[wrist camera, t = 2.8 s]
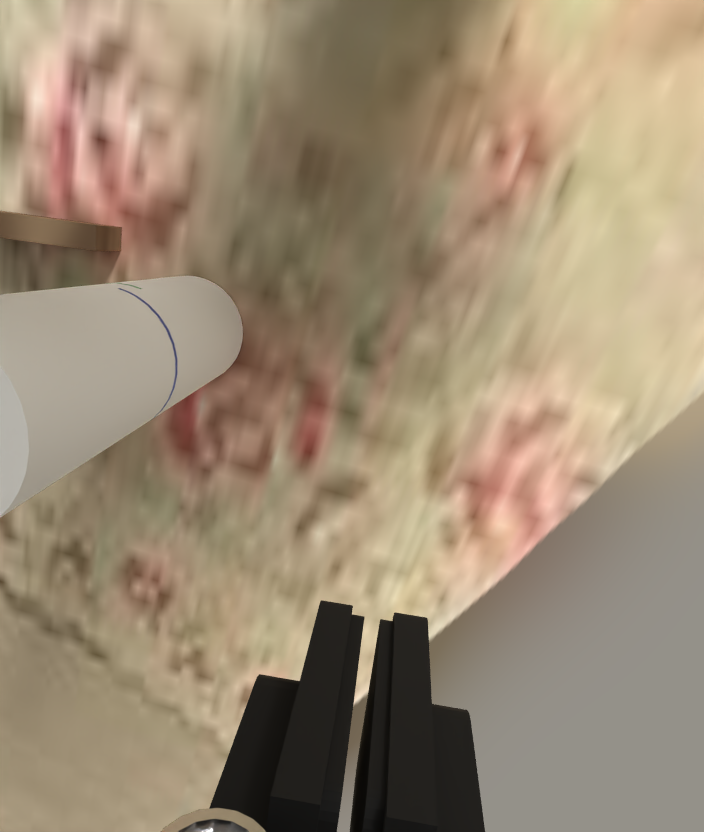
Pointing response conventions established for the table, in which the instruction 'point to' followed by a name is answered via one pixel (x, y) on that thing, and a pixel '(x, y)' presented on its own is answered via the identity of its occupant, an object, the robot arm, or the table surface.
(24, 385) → the cylindrical container
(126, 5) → the table surface
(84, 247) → the U-rest
